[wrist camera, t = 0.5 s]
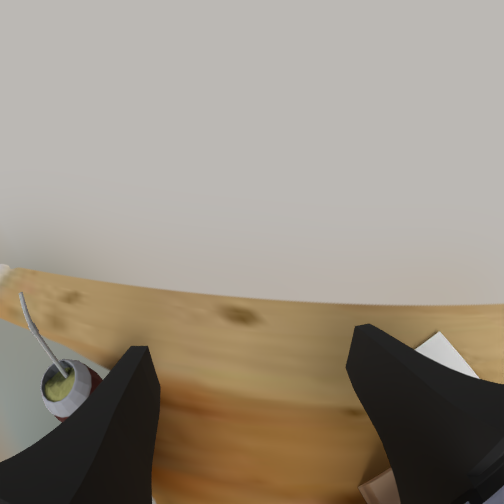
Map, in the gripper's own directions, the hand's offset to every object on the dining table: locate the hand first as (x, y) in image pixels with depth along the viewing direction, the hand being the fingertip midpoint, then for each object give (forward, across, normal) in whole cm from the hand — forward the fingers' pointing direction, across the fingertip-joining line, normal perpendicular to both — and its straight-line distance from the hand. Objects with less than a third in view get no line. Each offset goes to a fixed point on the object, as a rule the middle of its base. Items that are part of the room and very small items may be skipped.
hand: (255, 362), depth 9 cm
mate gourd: (+12, +16, +19) cm, 28 cm away
